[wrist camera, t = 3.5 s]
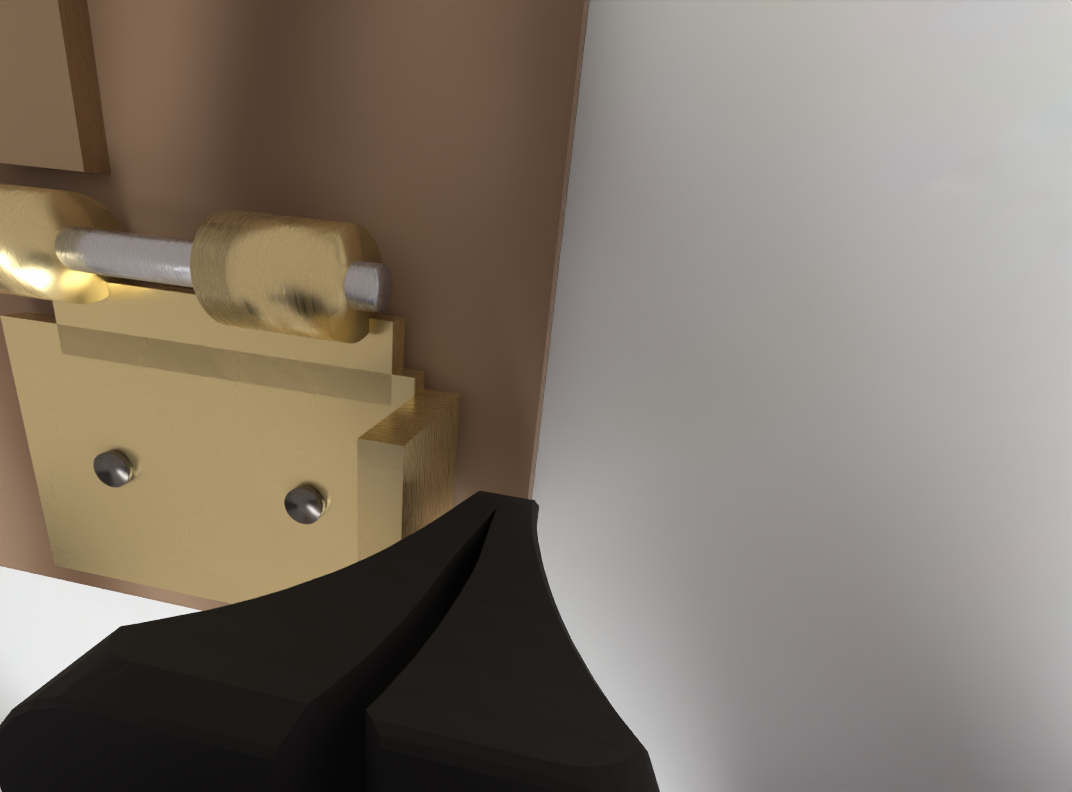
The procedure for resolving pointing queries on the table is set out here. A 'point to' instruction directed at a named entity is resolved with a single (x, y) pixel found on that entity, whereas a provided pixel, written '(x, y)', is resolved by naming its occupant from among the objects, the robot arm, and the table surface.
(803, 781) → the table surface
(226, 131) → the plank
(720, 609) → the table surface
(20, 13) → the hinge base
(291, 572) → the leaf
